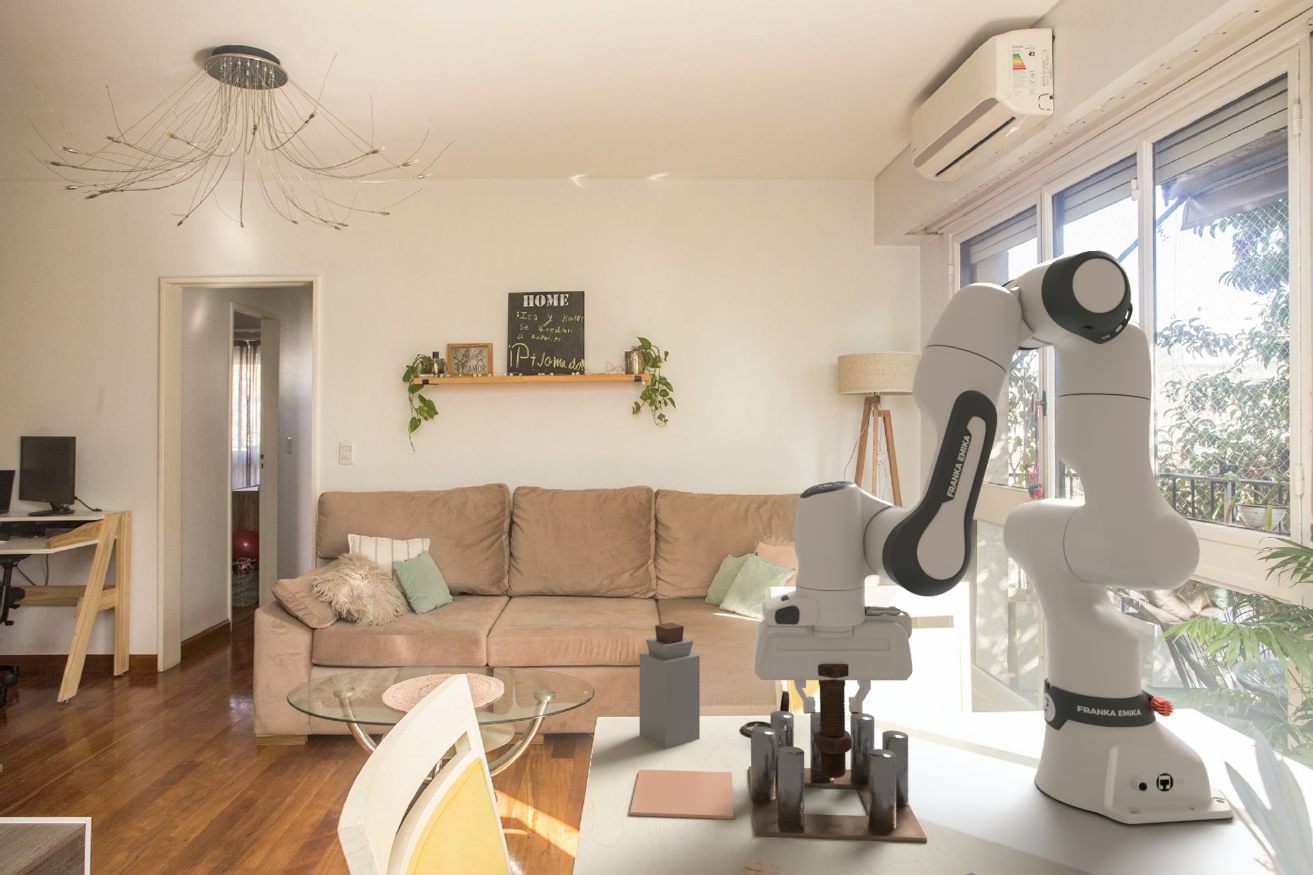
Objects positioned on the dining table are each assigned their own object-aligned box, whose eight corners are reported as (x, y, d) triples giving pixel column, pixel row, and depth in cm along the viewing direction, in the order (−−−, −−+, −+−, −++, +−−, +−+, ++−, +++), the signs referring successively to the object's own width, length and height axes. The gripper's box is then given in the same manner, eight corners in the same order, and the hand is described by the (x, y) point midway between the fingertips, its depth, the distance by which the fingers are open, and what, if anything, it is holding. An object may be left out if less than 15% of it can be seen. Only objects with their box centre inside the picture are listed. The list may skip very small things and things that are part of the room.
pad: (731, 774, 111) (731, 772, 111) (733, 818, 98) (733, 815, 98) (639, 772, 112) (639, 769, 112) (629, 815, 99) (629, 811, 99)
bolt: (857, 784, 100) (855, 666, 100) (817, 784, 100) (815, 666, 100) (848, 765, 106) (846, 653, 106) (810, 765, 106) (808, 653, 106)
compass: (739, 727, 130) (739, 683, 130) (788, 729, 129) (788, 685, 129) (739, 746, 122) (739, 699, 122) (790, 748, 121) (790, 701, 121)
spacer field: (891, 774, 111) (891, 710, 112) (927, 841, 93) (927, 765, 93) (747, 769, 113) (747, 706, 113) (754, 835, 94) (754, 759, 94)
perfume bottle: (639, 738, 125) (639, 624, 125) (673, 729, 129) (673, 619, 129) (665, 751, 120) (665, 632, 120) (699, 741, 124) (699, 626, 124)
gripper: (905, 601, 105) (907, 704, 105) (751, 601, 107) (753, 703, 107) (917, 611, 99) (919, 721, 99) (753, 612, 100) (755, 720, 100)
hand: (832, 712), depth 103 cm, fingers closed on bolt, 5 cm apart
